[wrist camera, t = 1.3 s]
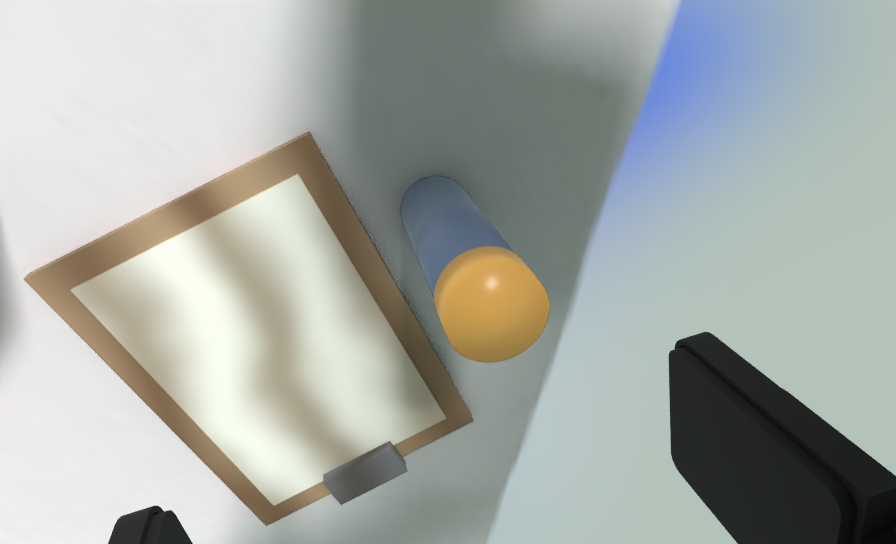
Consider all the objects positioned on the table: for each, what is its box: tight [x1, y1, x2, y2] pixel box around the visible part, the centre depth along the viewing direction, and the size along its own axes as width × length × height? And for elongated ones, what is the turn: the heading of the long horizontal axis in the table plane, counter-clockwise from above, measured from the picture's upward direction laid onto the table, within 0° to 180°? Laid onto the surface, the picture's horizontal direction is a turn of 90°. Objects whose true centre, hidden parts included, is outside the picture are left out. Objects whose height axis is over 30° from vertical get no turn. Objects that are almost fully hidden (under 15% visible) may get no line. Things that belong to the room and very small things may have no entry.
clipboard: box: [24, 132, 474, 526], centre depth 34 cm, size 16×22×2 cm
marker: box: [400, 176, 549, 362], centre depth 27 cm, size 4×4×12 cm
